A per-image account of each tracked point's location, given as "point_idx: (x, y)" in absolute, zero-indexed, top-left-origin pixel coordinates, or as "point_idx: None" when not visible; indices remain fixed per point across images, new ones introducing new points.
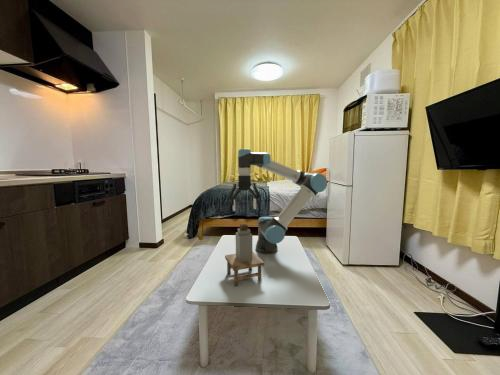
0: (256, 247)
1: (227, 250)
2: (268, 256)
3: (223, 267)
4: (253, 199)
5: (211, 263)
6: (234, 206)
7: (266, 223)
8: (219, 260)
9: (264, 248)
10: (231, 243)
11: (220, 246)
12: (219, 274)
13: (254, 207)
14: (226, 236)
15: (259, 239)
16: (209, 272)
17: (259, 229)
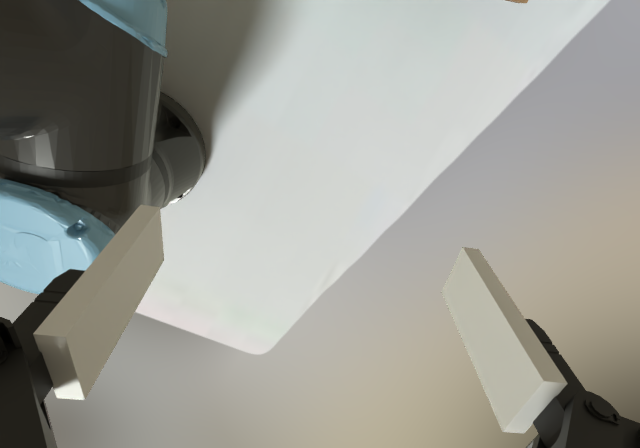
0: (200, 165)
1: (332, 227)
2: (174, 57)
3: (449, 67)
4: (97, 375)
5: (467, 139)
6: (499, 292)
7: (78, 137)
8: (420, 149)
9: (166, 120)
10: (279, 284)
11: (338, 277)
12: (510, 2)
13: (152, 241)
14: (264, 352)
15: (170, 174)
16: (530, 53)
17: (146, 201)
